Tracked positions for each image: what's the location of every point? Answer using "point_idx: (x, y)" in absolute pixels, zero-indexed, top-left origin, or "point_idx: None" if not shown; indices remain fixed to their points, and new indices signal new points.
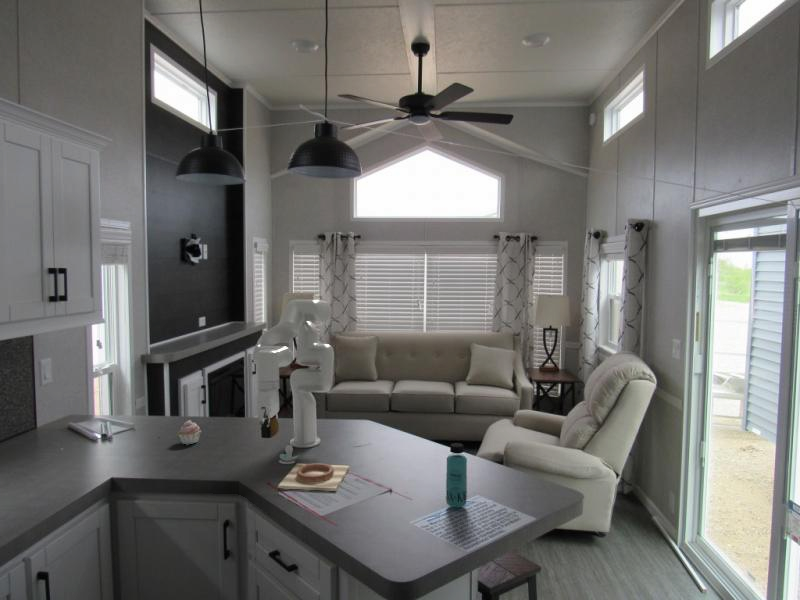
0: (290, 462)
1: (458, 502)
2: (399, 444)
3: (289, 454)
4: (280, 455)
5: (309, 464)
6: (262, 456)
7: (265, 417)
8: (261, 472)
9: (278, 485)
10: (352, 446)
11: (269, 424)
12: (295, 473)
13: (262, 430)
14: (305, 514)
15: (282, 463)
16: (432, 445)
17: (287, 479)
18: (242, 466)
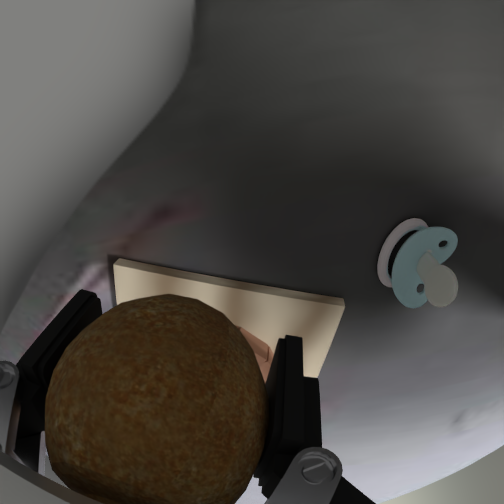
0: (381, 272)
1: None
2: (423, 469)
3: (424, 276)
4: (442, 229)
5: (265, 368)
6: (490, 132)
7: (102, 488)
8: (292, 151)
9: (114, 265)
10: (463, 410)
11: (44, 441)
12: (230, 312)
13: (47, 342)
14: (24, 331)
15: (388, 236)
16: (391, 497)
17: (168, 290)
18: (378, 44)
